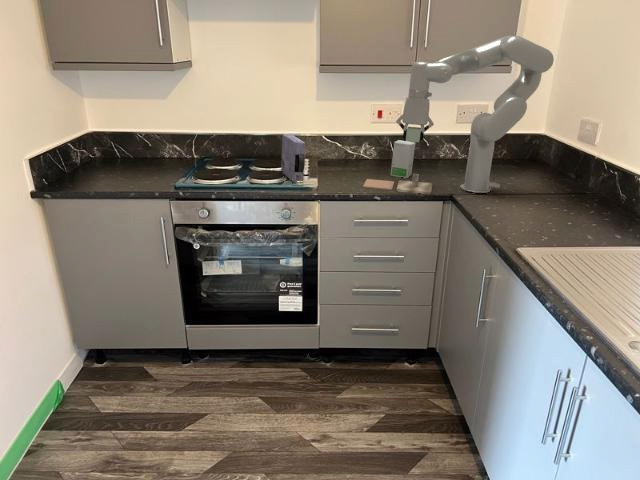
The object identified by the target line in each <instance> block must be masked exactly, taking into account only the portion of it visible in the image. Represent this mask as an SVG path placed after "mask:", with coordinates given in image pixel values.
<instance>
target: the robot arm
mask: <svg viewBox="0 0 640 480" xmlns="http://www.w3.org/2000/svg"><path fill="white" fill-rule="evenodd" d="M508 60H509V61H512V62H514V63H516V64H518V65H520V72H519V73H518V76H517V78H516V80H515V79H514V81H513V83H512V84H511V85H510V86H508V87H507V88H506V90H505V91H503V92H502V94H500V95H499V96H498V97H497V98H496V100H495V101H494V103H493V112H492V113H489V112H482V113H479V114H477V115H476V116H474V118H473V120H472V122H471V125H470V141H469V142H470V144H469V148H468V149H469V151H468V155H467V163H466V170H465V176H464V183H462V184H460V185H459V188H460V187H461V188H462V189H464V190H467V191H472V192H488V191H490V190H491V191H492V188H493V189H500V187H501V184H500V183H497V182H491V181H490V175H491V168H492V162H493V157H494V151H495V150H494V149H495V142H497V141H498V140H500V139H501V138H503V137H504V136H505V135H506V134H507V133H508V132H509V131H510V130H511V129H512V128H514V126H516V125H517V123H519V121H521V120H522V118H523V117H524V116H525V115H526V112H527V109H528V103H527V101H528V99H530V97H531V96H532V95H534V93H535V92H536V91H537V89H538V88H539V86H540V83H541V81H542V75H543V73H546V72H548V71H549V70H550V69H551V68H552V66H553V65H554V62H555V61H554V54H553V53H552V51H550V50H549V49H547V48H546V47H544V46H542V45H540V44H537V43H535V42H533V41H530V40H529V39H528V38H527V39H526V38H524V37H522V36H519V35H506V36H502V37H499V38H496V39H494V40H492V41H489V42H487V43H484V44H481V45H478V46H475V47H472V48H470V49H466V50H463V51H461V52H459V53H457V54H452V55H450V56H447V57H445V58H441V59H439V60H436V61H434V62H433V63H430V62H429V61H414V62H413V63H412V64H411V71H410V78H409V79H410V80H409V89H408V96H407V97H406V98H405V101H404V106H403V112H402V114H401V115H400V117H398V118H397V119H396V121H395V122H396V124H397V125H398V126H399V127H400V128H401V129H402V131H403V133H402V139H404V140H403V141H406V134H407V128H408V127H409V125H415V126H416V125H417V126H420V128H421V133H420V140H419V142H418V143H422V141H424V136H425V135H424V134H425V132H427V131H428V130H429V129H430V128H432V127H433V126H434V125H435V124H434V122H433V120H432V118H431V117H430V104H431V103H430V97H432V95H433V93H432V92H430V91H429V90H430V82H433V83H436V84H445V83H447V82H448V81H450V80H451V79H452V78H453V76H456V75H458V74H463V73H468V72H476V71H481V70H483V69H486V68H489V67H492V66H494V65H497V64H499V63H503V62H505V61H508Z"/></svg>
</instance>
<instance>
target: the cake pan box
mask: <svg viewBox="0 0 640 480" xmlns="http://www.w3.org/2000/svg"><path fill="white" fill-rule="evenodd" d="M305 161H306V142H305V141H303V140H301V139H300V138H298V137H297V136H295V135H294V134H292V133H283V134H282V140H281V161H280V162H281V164H280V165H281V167H280V171H281V170H282V171H283V173H284V174H285V175H286V176H287V177H288V178H289V179H288V178H287V177H286V176H285V175H284V174H283V173H282V174H283V175H284V176H285V177H286V178H287V179H288V180H290V181H291V180H292V181H293V182H297V181H303V182H304V172H305V163H306V162H305ZM292 181H291V182H292ZM293 182H292V183H293Z"/></svg>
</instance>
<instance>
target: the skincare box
mask: <svg viewBox="0 0 640 480" xmlns="http://www.w3.org/2000/svg"><path fill="white" fill-rule="evenodd" d="M415 149H416V142H410V141H404V140H401V139H398V140H396V141H394V143H393V151H392V157H391V158H392V159H391V169H390V176H391V177H395V178H401V177H403V178H402V179H406V178H407V179H408V178H410V177H411V176H412V170H413V165H414V163H413V162H414V156H415ZM410 175H411V176H410ZM409 176H410V177H409Z"/></svg>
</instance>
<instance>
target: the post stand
mask: <svg viewBox="0 0 640 480" xmlns="http://www.w3.org/2000/svg"><path fill="white" fill-rule="evenodd" d="M419 175H420V174H419V173H412V178H411V179H412V180H411V181H410V180H399V181H398V183H397V185H396V186H397V187H396V190H395V191H396V192H400V193H408V194H409V193H410V194H418V193H421V195H431V196H432V188H433V183H432V182H422V181H421V182H420V181H419Z"/></svg>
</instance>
